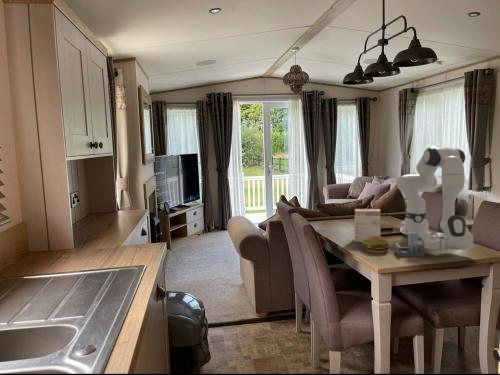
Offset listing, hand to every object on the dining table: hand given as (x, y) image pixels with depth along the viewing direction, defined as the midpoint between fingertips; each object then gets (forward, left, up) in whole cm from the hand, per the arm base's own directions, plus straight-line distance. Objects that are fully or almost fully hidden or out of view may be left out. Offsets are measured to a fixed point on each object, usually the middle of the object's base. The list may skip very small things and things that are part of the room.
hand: (411, 240), depth 207 cm
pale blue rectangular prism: (0, +1, -5) cm, 6 cm away
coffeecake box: (-27, -19, -8) cm, 34 cm away
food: (-7, -17, -8) cm, 20 cm away
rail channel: (0, 0, -7) cm, 8 cm away
